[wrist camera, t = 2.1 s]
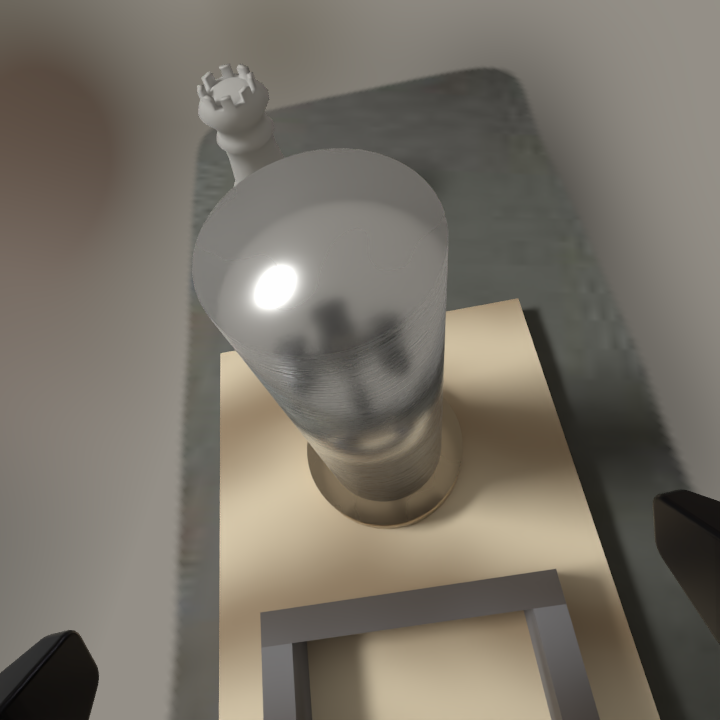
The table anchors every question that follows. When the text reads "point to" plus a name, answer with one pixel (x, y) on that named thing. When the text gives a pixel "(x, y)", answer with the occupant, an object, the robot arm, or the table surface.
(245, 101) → the rook chess piece
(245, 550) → the carrier board
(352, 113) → the table surface
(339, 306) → the grey rounded piece
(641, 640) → the table surface
